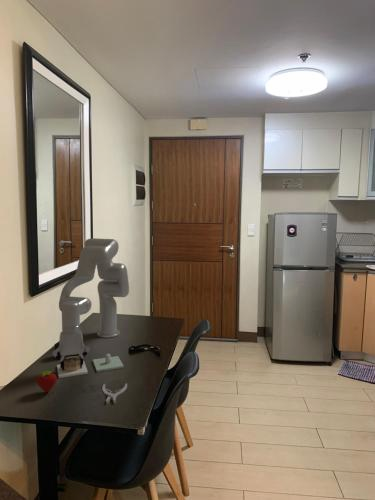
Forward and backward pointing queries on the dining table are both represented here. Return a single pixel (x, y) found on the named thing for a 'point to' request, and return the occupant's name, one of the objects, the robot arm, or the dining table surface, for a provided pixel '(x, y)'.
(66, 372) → the stand
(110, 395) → the pliers
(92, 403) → the dining table surface
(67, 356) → the digital camera
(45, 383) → the strawberry
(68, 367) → the collar
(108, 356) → the plate
